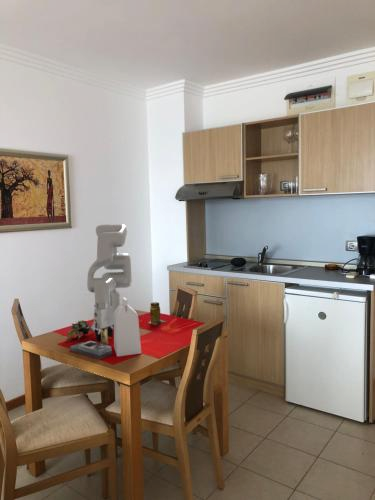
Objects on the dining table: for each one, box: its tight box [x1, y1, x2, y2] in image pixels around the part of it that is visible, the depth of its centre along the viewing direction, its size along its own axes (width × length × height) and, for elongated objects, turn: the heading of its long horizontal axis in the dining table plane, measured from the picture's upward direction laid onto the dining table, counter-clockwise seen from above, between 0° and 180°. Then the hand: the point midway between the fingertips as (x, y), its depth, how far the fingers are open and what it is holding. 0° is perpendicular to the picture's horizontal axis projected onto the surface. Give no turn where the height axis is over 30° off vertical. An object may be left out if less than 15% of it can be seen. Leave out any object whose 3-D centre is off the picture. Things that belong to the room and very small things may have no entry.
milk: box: [113, 296, 142, 357], centre depth 202 cm, size 12×12×26 cm
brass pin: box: [100, 327, 109, 346], centre depth 213 cm, size 3×3×9 cm
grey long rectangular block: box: [69, 340, 113, 360], centre depth 202 cm, size 22×8×5 cm, turn 52°
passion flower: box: [67, 320, 93, 341], centre depth 224 cm, size 11×11×12 cm
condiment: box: [148, 301, 166, 326], centre depth 249 cm, size 7×8×12 cm
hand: (104, 338), depth 213 cm, fingers open, 7 cm apart
